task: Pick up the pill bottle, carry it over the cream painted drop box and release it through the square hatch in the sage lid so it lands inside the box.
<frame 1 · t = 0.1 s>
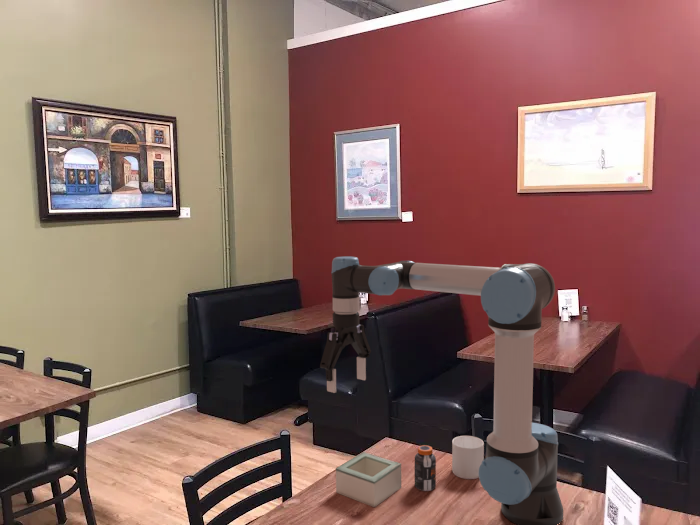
hand: (347, 385, 163), 28 cm above the table, fingers open, 13 cm apart
pill bottle: (425, 487, 161), on the table
mug: (467, 470, 171), on the table
drop box: (369, 490, 160), on the table
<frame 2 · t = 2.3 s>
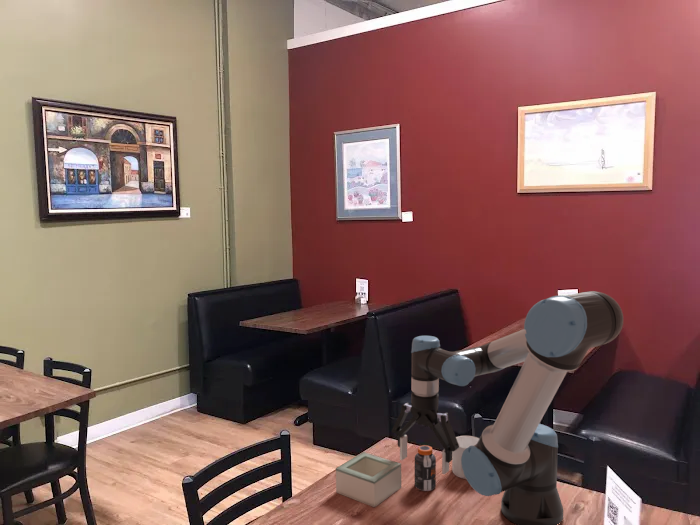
hand: (423, 465, 161), 6 cm above the table, fingers open, 13 cm apart
nothing on the table moved.
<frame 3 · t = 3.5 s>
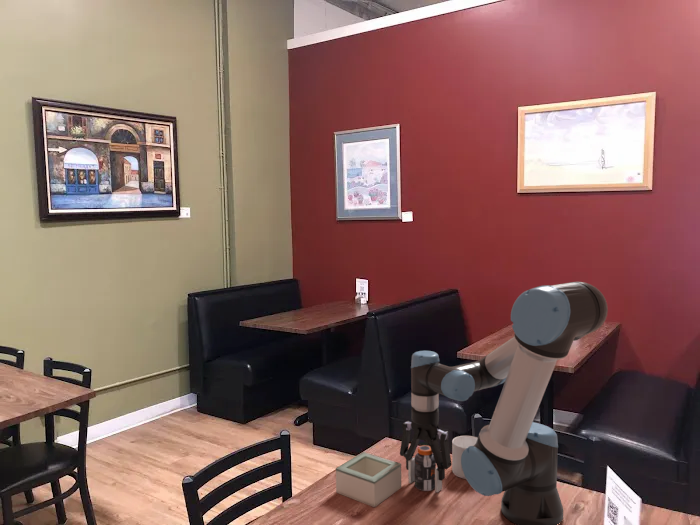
hand: (425, 485, 161), 0 cm above the table, fingers open, 8 cm apart
nothing on the table moved.
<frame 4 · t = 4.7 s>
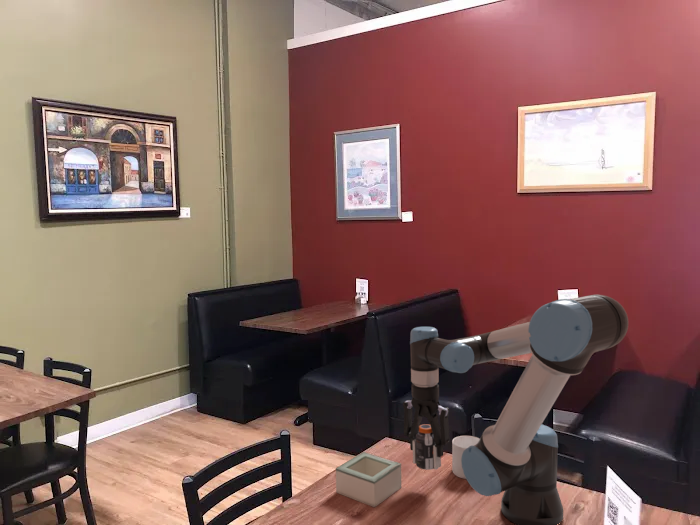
hand: (426, 464, 160), 7 cm above the table, fingers closed on pill bottle, 6 cm apart
pill bottle: (426, 466, 160), point 6 cm above the table, touching gripper
everything else where it was.
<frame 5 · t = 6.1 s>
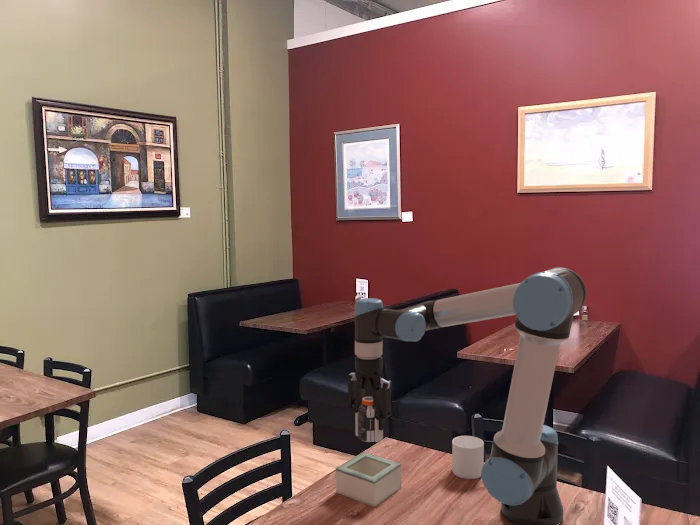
hand: (369, 437, 158), 15 cm above the table, fingers closed on pill bottle, 6 cm apart
pill bottle: (369, 438, 159), point 15 cm above the table, touching gripper
everything else where it was.
when the fingers open (8 cm above the table, at t = 7.8 s): pill bottle drops 7 cm, resting on drop box.
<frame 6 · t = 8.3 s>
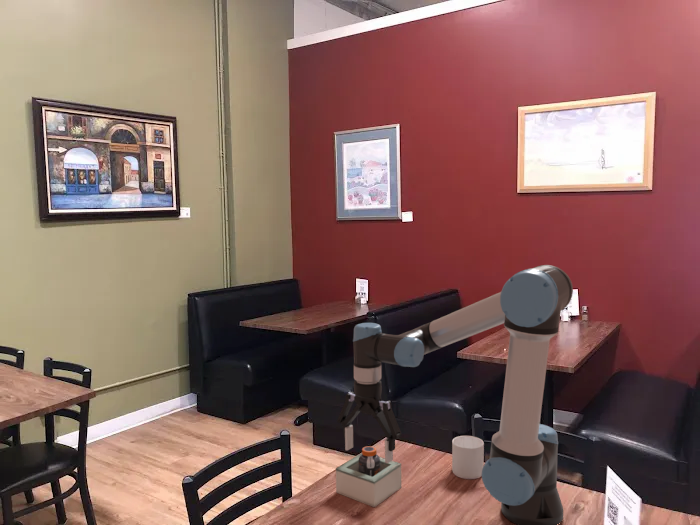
hand: (368, 454, 159), 10 cm above the table, fingers open, 13 cm apart
pill bottle: (369, 488, 160), resting on drop box
everything else where it was.
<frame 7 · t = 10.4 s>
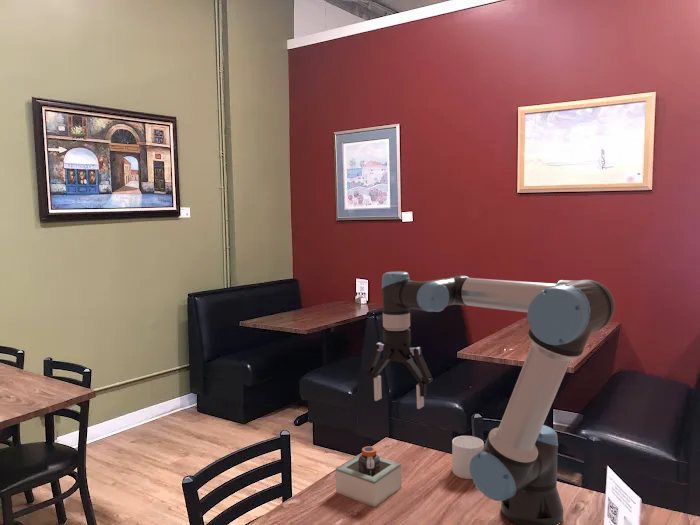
hand: (398, 403, 160), 24 cm above the table, fingers open, 13 cm apart
nothing on the table moved.
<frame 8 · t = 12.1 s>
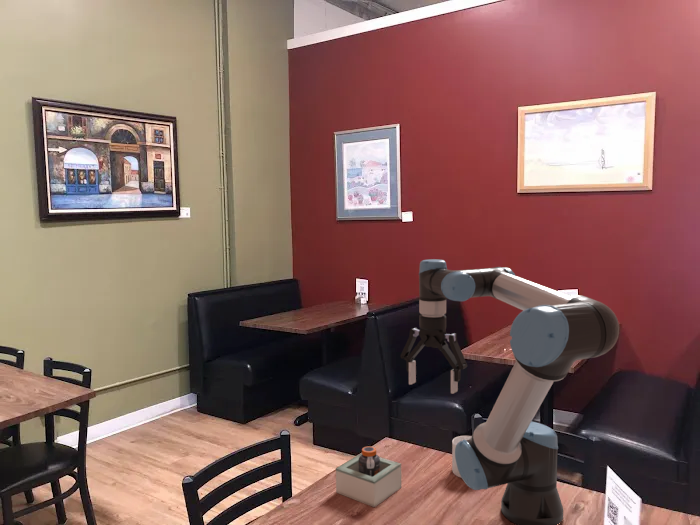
hand: (432, 387, 164), 27 cm above the table, fingers open, 13 cm apart
nothing on the table moved.
at the end: pill bottle 0.1 cm from the drop box (horizontally); pill bottle resting on drop box; the gripper is holding nothing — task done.
